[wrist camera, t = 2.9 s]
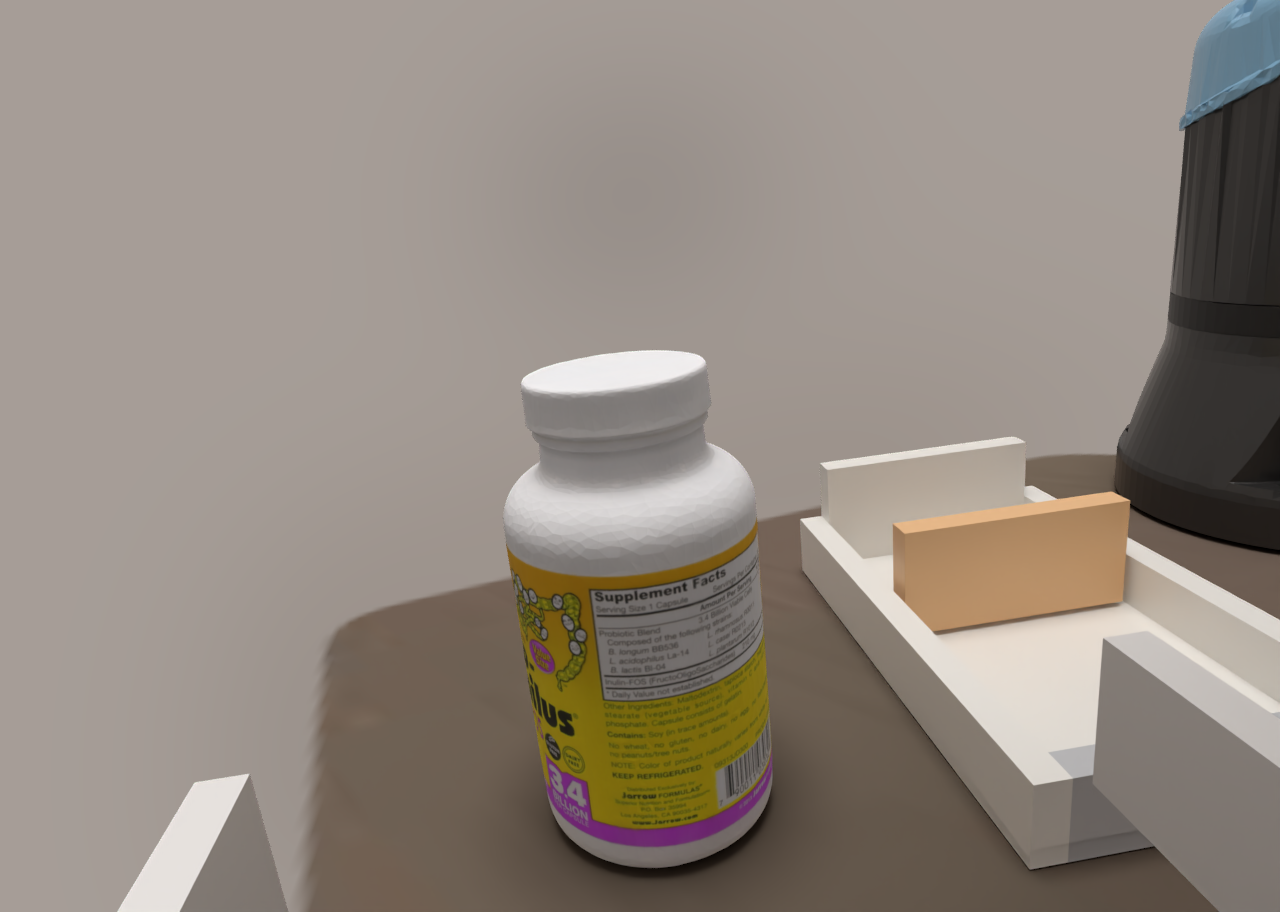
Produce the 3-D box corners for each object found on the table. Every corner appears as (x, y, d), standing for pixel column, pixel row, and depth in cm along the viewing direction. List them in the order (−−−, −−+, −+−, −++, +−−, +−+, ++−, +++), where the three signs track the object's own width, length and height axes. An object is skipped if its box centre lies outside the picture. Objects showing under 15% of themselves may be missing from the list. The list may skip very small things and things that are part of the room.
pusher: (1104, 589, 31) (1111, 491, 30) (1122, 601, 31) (1130, 500, 29) (893, 622, 31) (892, 523, 30) (905, 635, 30) (904, 533, 29)
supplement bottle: (547, 743, 27) (487, 361, 23) (743, 710, 28) (714, 333, 24) (552, 904, 21) (470, 415, 17) (805, 857, 21) (780, 375, 18)
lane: (1030, 536, 38) (1034, 433, 37) (1430, 794, 21) (1467, 622, 20) (802, 570, 37) (797, 466, 36) (1029, 869, 20) (1037, 695, 19)
